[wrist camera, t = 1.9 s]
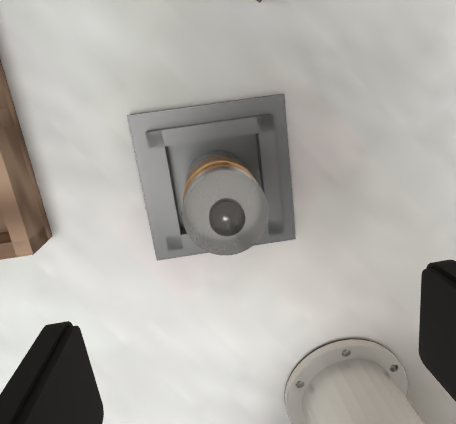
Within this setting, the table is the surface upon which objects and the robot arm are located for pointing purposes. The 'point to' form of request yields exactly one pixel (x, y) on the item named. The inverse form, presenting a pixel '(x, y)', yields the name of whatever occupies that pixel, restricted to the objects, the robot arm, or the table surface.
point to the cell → (223, 204)
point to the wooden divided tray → (17, 188)
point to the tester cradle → (204, 142)
